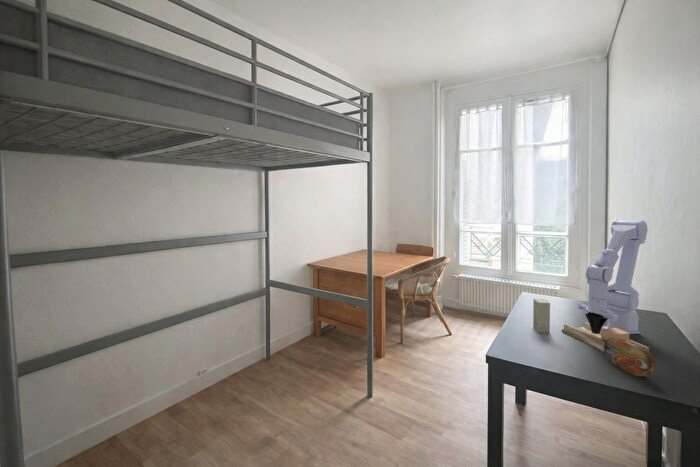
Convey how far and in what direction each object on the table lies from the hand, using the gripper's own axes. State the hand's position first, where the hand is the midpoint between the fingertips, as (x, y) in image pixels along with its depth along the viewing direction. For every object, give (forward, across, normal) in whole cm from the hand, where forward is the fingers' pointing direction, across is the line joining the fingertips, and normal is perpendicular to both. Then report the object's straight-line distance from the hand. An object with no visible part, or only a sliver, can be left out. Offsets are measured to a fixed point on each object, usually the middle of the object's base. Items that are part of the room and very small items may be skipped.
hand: (595, 333), depth 125 cm
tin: (+3, +21, -10) cm, 23 cm away
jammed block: (+1, +8, 0) cm, 8 cm away
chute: (+2, +3, 0) cm, 4 cm away
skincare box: (+3, -12, -13) cm, 18 cm away
